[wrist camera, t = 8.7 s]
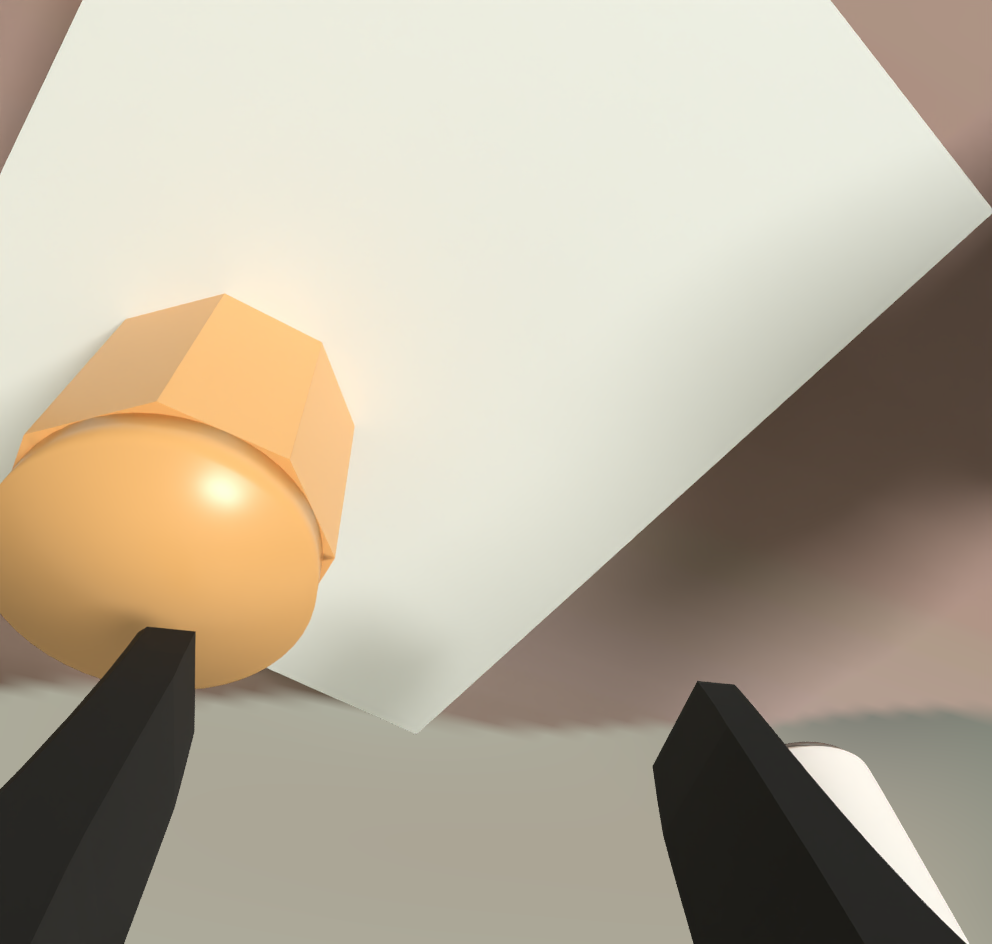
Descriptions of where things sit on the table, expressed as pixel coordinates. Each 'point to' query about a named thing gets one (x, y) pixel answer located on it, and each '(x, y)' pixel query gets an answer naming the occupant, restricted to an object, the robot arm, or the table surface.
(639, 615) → the table surface
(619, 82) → the junction box
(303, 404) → the cap
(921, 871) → the can
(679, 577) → the table surface
